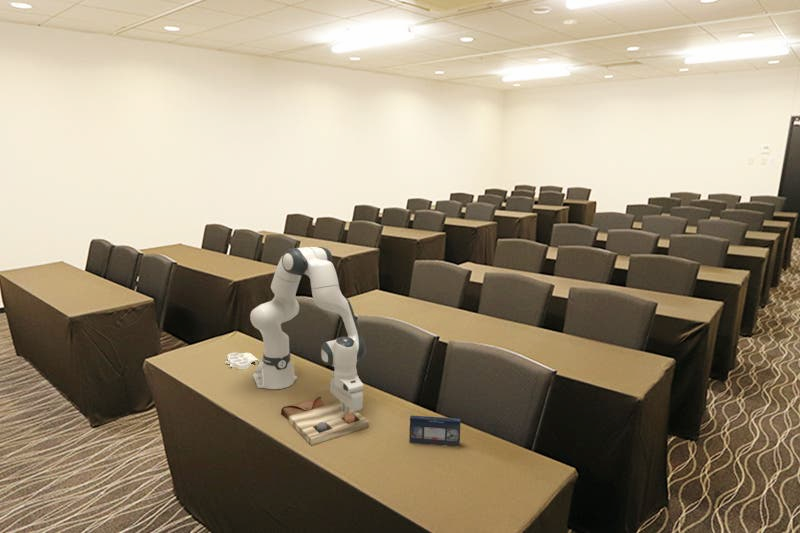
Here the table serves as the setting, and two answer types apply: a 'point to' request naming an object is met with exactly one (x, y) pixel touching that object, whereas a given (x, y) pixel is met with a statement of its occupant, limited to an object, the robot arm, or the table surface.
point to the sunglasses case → (301, 407)
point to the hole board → (333, 420)
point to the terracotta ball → (349, 418)
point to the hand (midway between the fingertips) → (345, 412)
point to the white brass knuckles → (241, 360)
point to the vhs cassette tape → (434, 430)
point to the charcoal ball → (321, 427)
